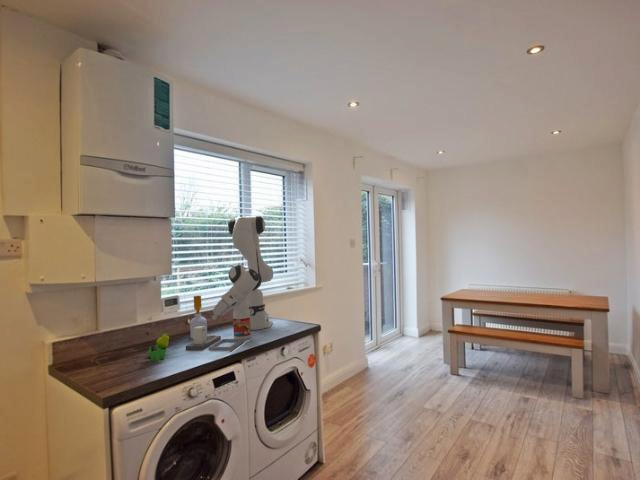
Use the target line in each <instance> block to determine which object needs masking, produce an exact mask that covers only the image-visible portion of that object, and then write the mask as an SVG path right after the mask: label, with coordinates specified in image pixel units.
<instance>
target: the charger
mask: <svg viewBox="0 0 640 480" xmlns="http://www.w3.org/2000/svg"><path fill="white" fill-rule="evenodd" d="M193 336H194V339H193V342H194V344H203V343H205V342H206V328H205V326H197V327H195V328H193Z"/></svg>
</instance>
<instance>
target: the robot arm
mask: <svg viewBox="0 0 640 480" xmlns="http://www.w3.org/2000/svg"><path fill="white" fill-rule="evenodd" d="M265 228H266V222H265V219H264V218H263V216H259V215H256V216H253V215H251V216H250V215H249V216H240V217H232V218H230V219H229V220H228V222H227V230H228V232H229V234H231V235H232V238H231V240H232V244H233V246H234V247H235V249H237V250H238V251H239V252H240V253H241V254H242V257H243V259H244V260H246V261H247V265H242V264H239V263H238V264H235V265H233V266H232V267H231V268H229V271H228V279H229V281H230V282H231V283H232V284H233V285H232V286H231V287H230V288H229V289H228V291H227V292H226V293H224V294H223V295H222V296H221V298H220V300H219V301H217V303H216V304H215V306H214V307H213V309H212V313H213V315H212V316H211V319H212V320H216V319H217V318H218V316H221V317H223V316H225V315H226V314H227V313H228V312H229V311H232V310H234V308H235V307H236V306H238V305H240V304H241V303H242V301H243V300H244V299H245V298H247V300H248V301H249V311H250V322H251V331H255V330H262V329H269V328H271V326H272V325H273V321H272V320H270V317H269V316H270V315H269V314H268V312H267V311H266V310H265V309H266V308H265V307H266V303H264V293H263V292H262V290H261V289H259V288H260V286H261V285H262V283H268V282H272V280H273V279H274V269H273V268H272V266H270V265H268V264H267V263H266V262H265V261H264V259H263V256H262V254H261V248H260V239H259V236H260V235H261V234H262V233H264V231H265Z"/></svg>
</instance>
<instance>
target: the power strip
mask: <svg viewBox="0 0 640 480" xmlns="http://www.w3.org/2000/svg"><path fill="white" fill-rule="evenodd" d="M220 340H222V337H221V335H215V334H211V335H207V336H206V342H205V343H203V344H194V341H192V342H191V343H188V344H187V345H185V351H203V350H205V349H207V348H208V347H209V346H211V345H213V344H215V343H216V342H218V341H220Z"/></svg>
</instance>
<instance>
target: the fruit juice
mask: <svg viewBox="0 0 640 480" xmlns="http://www.w3.org/2000/svg"><path fill="white" fill-rule="evenodd" d="M232 324H233V328H232V329H233V339H243V340H248V341H249V340H250V339H251V337H252V330H251V322H250V311H249V301H248V300H247V298H245V299H244V300H243V301H242V303H241V304H240V305H238V306H236V307H235V308H234V309H233V313H232Z"/></svg>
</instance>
